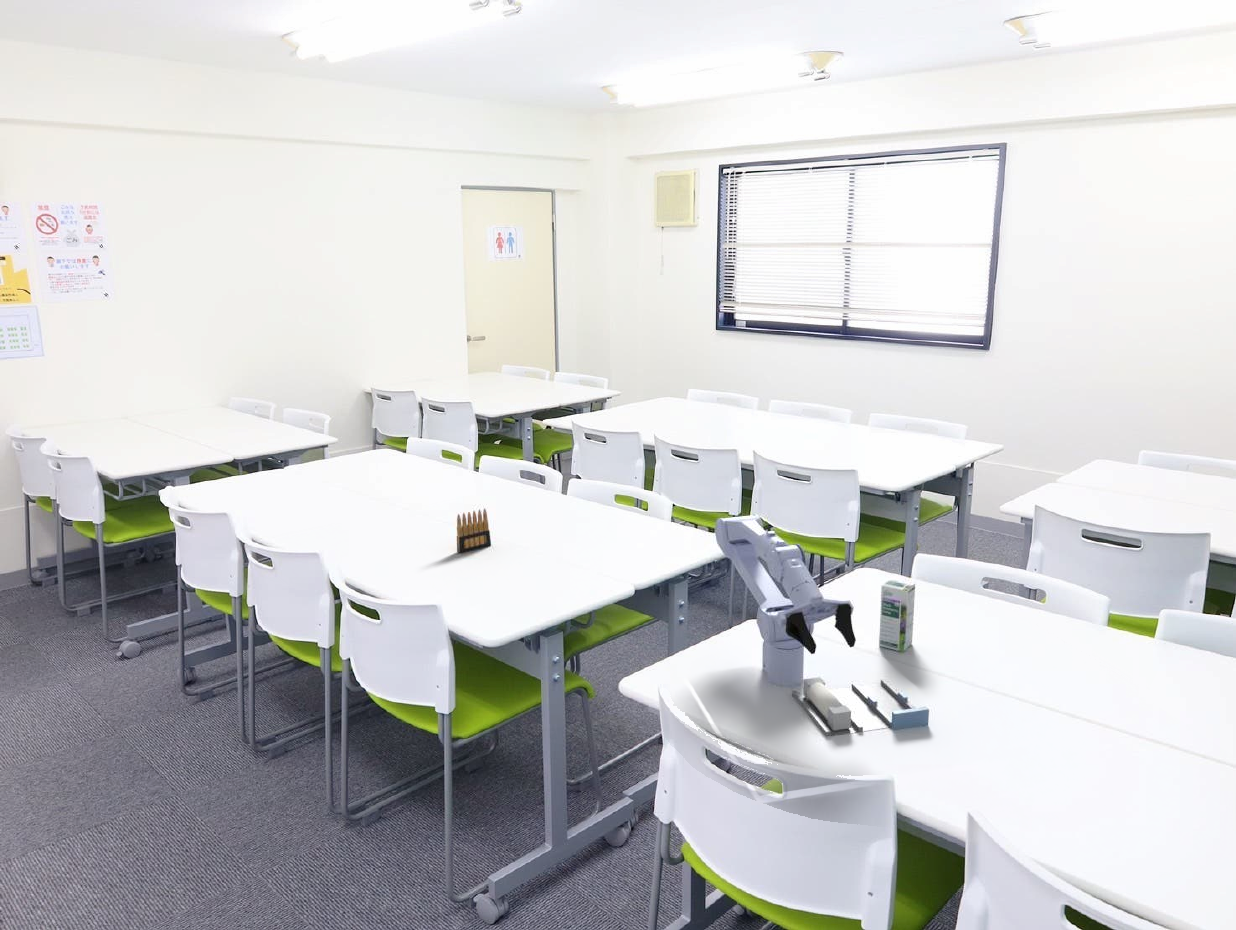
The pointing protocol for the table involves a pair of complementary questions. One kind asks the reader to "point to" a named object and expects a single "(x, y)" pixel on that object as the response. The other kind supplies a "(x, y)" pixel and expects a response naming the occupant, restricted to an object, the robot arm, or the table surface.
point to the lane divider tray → (869, 709)
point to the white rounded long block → (827, 704)
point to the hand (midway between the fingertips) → (833, 646)
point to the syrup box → (896, 614)
